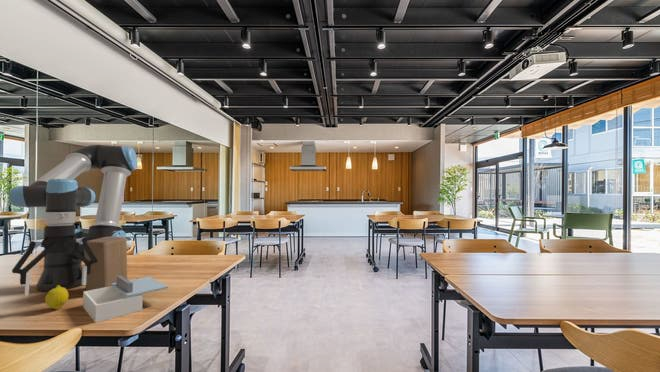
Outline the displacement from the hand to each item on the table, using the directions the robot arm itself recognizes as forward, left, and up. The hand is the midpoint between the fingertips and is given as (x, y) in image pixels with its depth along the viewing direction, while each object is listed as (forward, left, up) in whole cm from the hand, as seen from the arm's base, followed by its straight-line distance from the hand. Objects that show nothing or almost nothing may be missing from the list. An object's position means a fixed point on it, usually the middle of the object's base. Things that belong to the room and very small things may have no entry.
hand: (56, 289), depth 92 cm
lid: (+13, +20, -1) cm, 24 cm away
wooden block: (-13, +16, -6) cm, 22 cm away
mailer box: (+13, +12, -7) cm, 19 cm away
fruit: (0, 0, -7) cm, 7 cm away
